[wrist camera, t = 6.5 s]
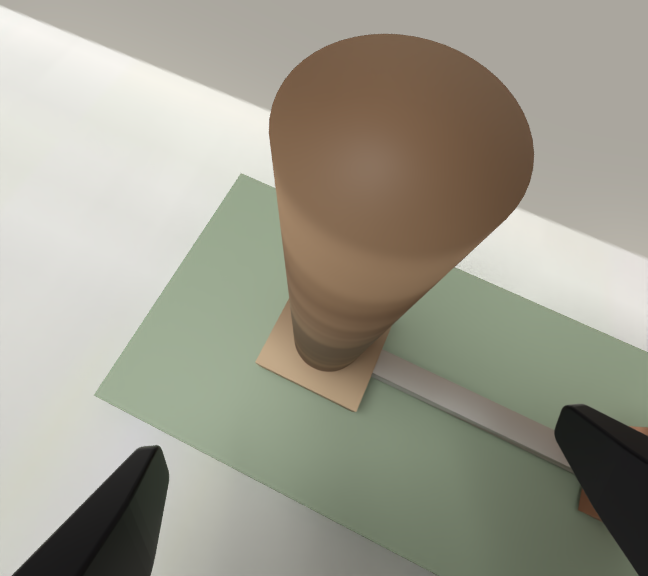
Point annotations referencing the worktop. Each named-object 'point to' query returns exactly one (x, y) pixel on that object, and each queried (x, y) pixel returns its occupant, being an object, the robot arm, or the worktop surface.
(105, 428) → the worktop surface
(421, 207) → the post with bar block
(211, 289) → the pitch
